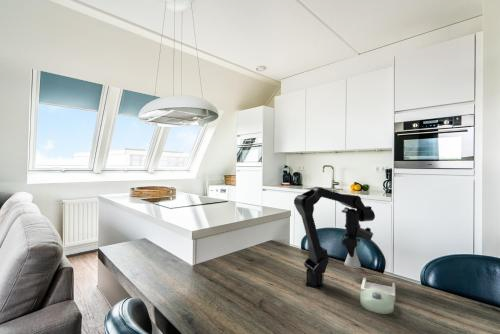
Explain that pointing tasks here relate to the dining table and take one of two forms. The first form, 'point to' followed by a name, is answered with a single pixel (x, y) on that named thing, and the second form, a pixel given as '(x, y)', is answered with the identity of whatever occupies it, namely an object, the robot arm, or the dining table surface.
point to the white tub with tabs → (377, 297)
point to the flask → (352, 261)
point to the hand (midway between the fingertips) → (352, 256)
